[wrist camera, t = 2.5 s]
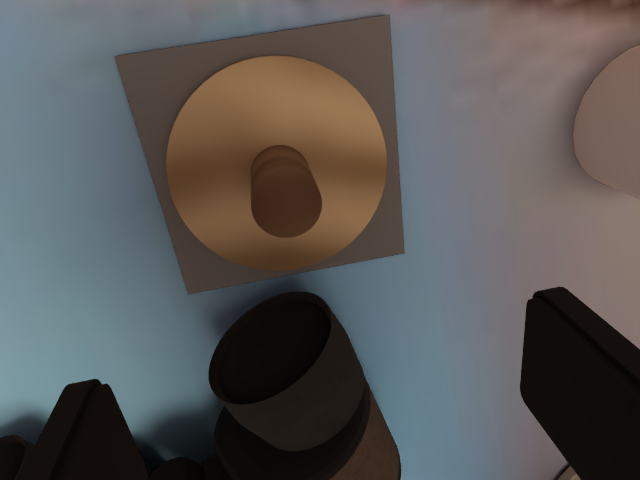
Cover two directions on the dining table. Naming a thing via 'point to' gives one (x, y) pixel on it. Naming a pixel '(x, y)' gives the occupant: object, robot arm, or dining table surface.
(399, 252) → the rubber mat
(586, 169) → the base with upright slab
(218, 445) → the binoculars
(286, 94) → the oak lid
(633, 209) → the dining table surface
